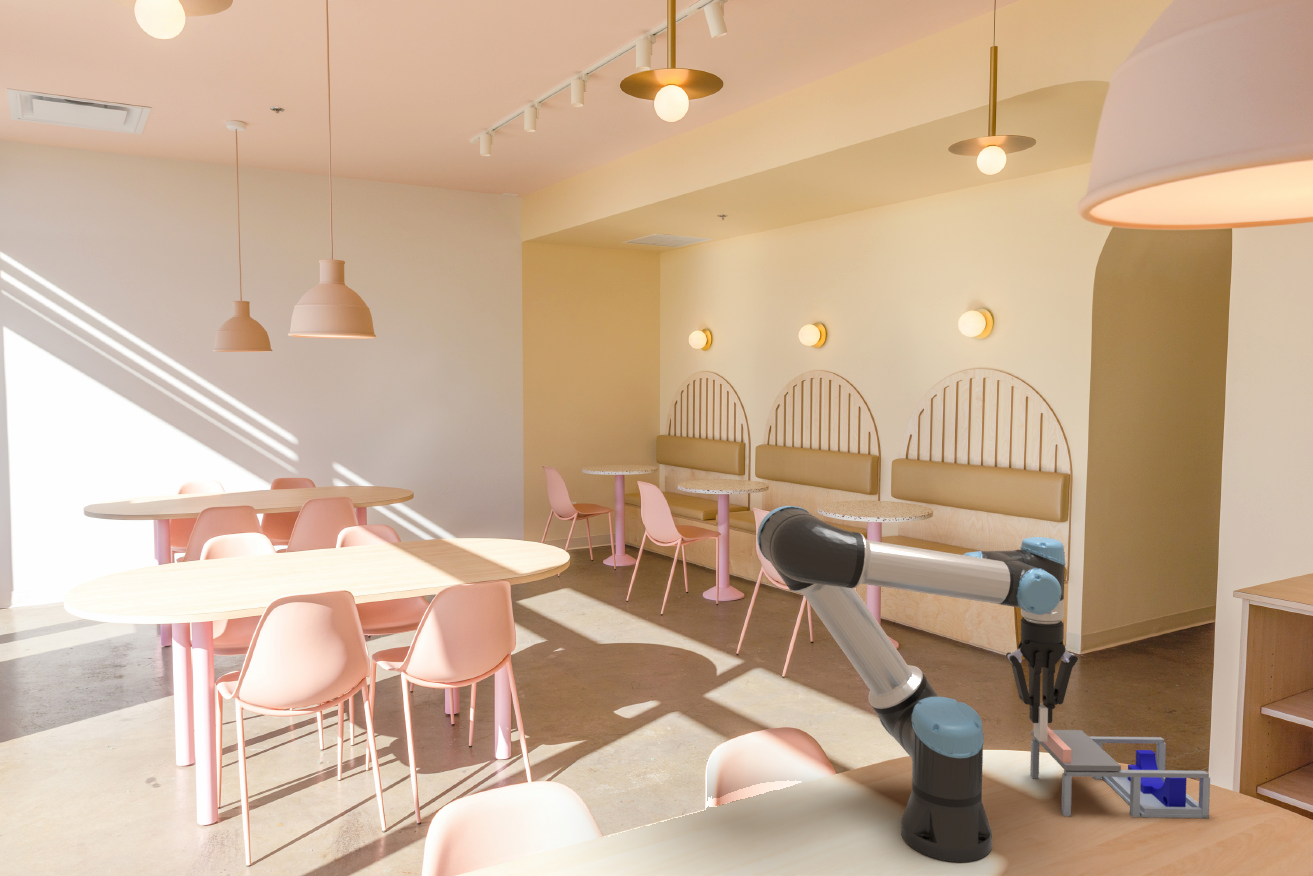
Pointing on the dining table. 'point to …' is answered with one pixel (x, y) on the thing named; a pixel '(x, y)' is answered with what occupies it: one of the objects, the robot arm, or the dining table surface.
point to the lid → (1077, 751)
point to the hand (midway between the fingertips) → (1040, 738)
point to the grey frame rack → (1136, 783)
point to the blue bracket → (1159, 781)
